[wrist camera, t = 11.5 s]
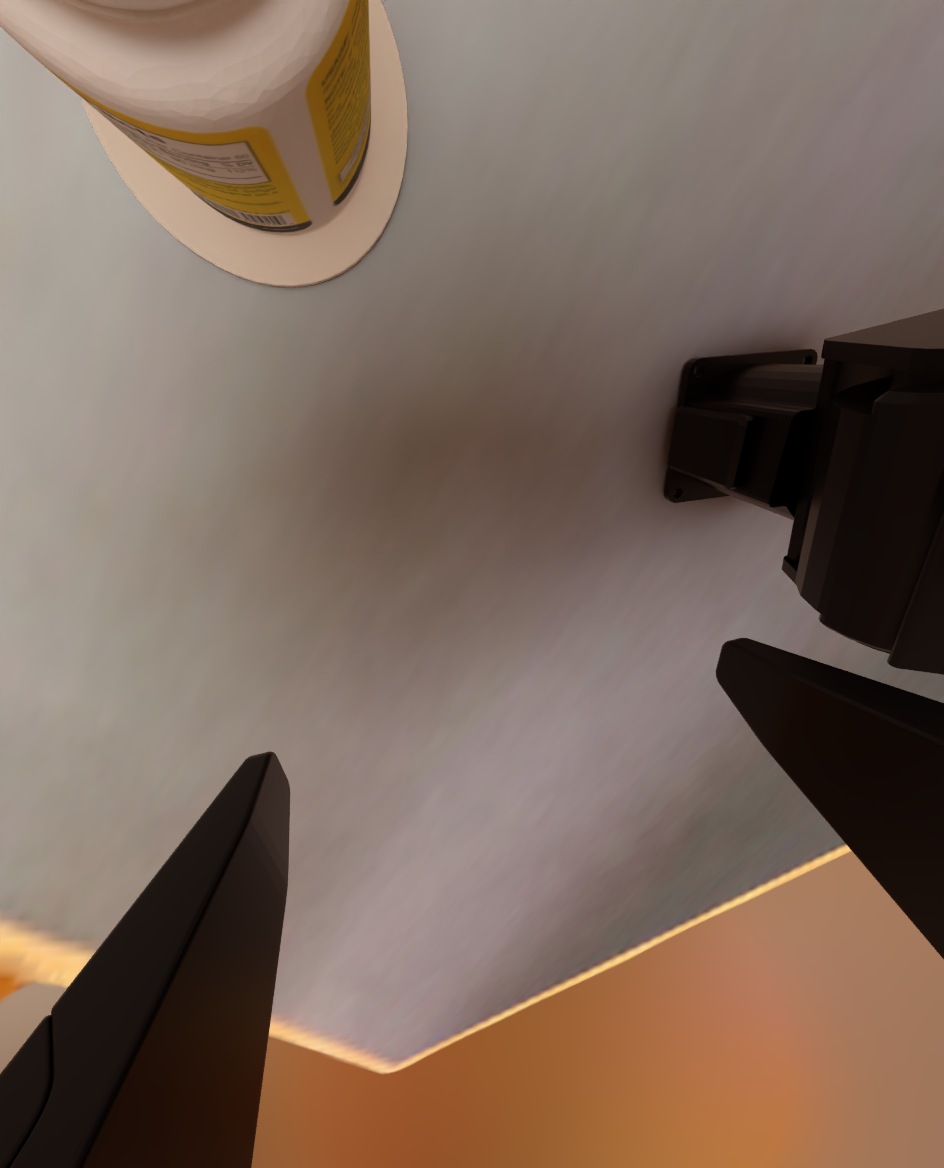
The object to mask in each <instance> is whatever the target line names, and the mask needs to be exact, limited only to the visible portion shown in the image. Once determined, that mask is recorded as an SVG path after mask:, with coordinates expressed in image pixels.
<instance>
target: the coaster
mask: <svg viewBox="0 0 944 1168" xmlns="http://www.w3.org/2000/svg"><path fill="white" fill-rule="evenodd" d="M368 2H369V37H370V76H371V132H370V143H369V149H368V154H367V158H366V162H365V166H364V169H363V172H362V174H361V177H360V179H359V181H358V183H357V185H356V187H355V189H354V191H353V193H352V194H351V196H350V197H349V199H348V200H347V201H346V203H345V204H344V205H343V206H342V207H341V208H340V210H339V211H338V212H337V213H336V214H335V215H334V216H332V217H331V218H330V219H329V220H327V221H326V222H325V223H323V224H321V225H319V226H317V227H315V228H313V229H311V230H308V231H305V232H300V233H296V234H271V233H264V232H261V231H257V230H253V229H250V228H248V227H245V226H243V225H240V224H238V223H236V222H234V221H232V220H231V219H229V218H227V217H225V216H224V215H222V214H220V213H219V212H217V211H216V210H214V209H213V208H212V207H210V206H209V205H208V204H206V203H205V202H204V201H203V200H201V199H200V198H199V197H198V196H196V195H195V194H194V193H193V192H192V191H191V190H190V189H189V188H187V187H186V186H185V185H184V184H183V183H181V182H180V181H179V180H178V179H177V178H176V177H174V176H173V175H172V174H171V173H169V172H168V171H167V170H166V169H165V168H164V167H162V166H161V165H160V164H159V163H158V162H156V161H155V160H154V159H153V158H152V157H151V156H149V155H148V154H147V153H146V152H145V151H144V150H142V149H141V148H140V147H139V146H138V145H136V144H135V143H134V142H133V141H132V140H131V139H129V138H128V137H127V136H126V135H125V134H124V133H122V132H121V131H120V130H119V129H118V128H117V127H115V126H114V125H113V124H112V123H111V122H110V121H109V120H107V119H106V118H105V117H104V116H103V115H102V114H100V113H99V112H98V111H97V110H96V109H94V108H93V107H92V106H91V105H90V104H89V103H87V102H86V101H85V100H84V99H83V98H82V97H80V98H81V100H82V103H83V105H84V108H85V110H86V113H87V115H88V117H89V120H90V122H91V125H92V127H93V129H94V131H95V132H96V134H97V136H98V138H99V140H100V142H101V144H102V146H103V148H104V150H105V152H106V154H107V155H108V157H109V158H110V160H111V162H112V163H113V165H114V166H115V168H116V170H117V171H118V173H119V174H120V176H121V178H122V179H123V180H124V182H125V183H126V184H127V186H128V187H129V188H130V190H131V191H132V192H133V194H134V195H135V196H136V197H137V199H138V200H139V201H140V202H141V204H142V205H143V206H144V207H145V208H146V209H147V210H148V211H149V212H150V214H151V215H152V216H153V217H154V218H155V219H156V220H157V221H158V222H159V223H160V224H161V225H162V226H163V227H164V228H165V229H166V230H168V231H169V232H170V233H171V234H172V235H173V236H174V237H175V238H176V239H177V240H179V241H180V242H181V243H183V244H184V245H185V246H187V247H188V248H189V249H191V250H192V251H193V252H195V253H196V254H198V255H199V256H201V257H203V258H204V259H206V260H208V261H209V262H211V263H213V264H214V265H216V266H218V267H219V268H221V269H223V270H225V271H227V272H230V273H232V274H234V275H236V276H238V277H241V278H244V279H247V280H250V281H253V282H256V283H259V284H265V285H271V286H277V287H301V286H309V285H314V284H318V283H321V282H324V281H328V280H330V279H332V278H334V277H336V276H338V275H340V274H342V273H344V272H346V271H347V270H348V269H350V268H351V267H353V266H354V265H355V264H357V263H358V262H359V261H360V260H361V259H362V258H363V257H364V256H365V255H366V254H367V253H368V252H369V251H370V250H371V248H372V247H373V246H374V244H375V243H376V242H377V240H378V239H379V238H380V236H381V234H382V233H383V231H384V229H385V227H386V225H387V224H388V222H389V220H390V217H391V215H392V212H393V210H394V207H395V205H396V202H397V198H398V195H399V191H400V187H401V183H402V178H403V172H404V165H405V159H406V152H407V132H408V121H407V101H406V93H405V86H404V79H403V72H402V67H401V63H400V59H399V54H398V50H397V46H396V42H395V39H394V36H393V33H392V30H391V26H390V23H389V20H388V17H387V14H386V12H385V9H384V7H383V5H382V2H381V0H368Z"/></svg>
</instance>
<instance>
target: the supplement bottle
mask: <svg viewBox="0 0 944 1168" xmlns="http://www.w3.org/2000/svg"><path fill="white" fill-rule="evenodd" d="M0 26H1V27H2V28H3V29H4V30H5V31H6V32H7V33H8V34H9V35H10V36H11V37H12V38H13V39H14V40H16V41H17V42H18V43H19V44H20V45H21V46H22V47H23V48H24V49H25V50H26V51H28V52H29V53H30V54H31V55H32V56H33V57H34V58H36V59H37V60H38V61H39V62H40V63H41V64H42V65H44V66H45V67H46V68H47V69H48V70H50V71H51V72H52V73H53V74H54V75H55V76H57V77H58V78H59V79H60V80H62V81H63V82H64V83H65V84H66V85H67V86H68V87H70V88H71V89H72V90H73V91H74V92H76V93H77V94H78V95H79V96H80V97H82V98H83V99H84V100H85V101H86V102H87V103H89V104H90V105H91V106H92V107H93V108H94V109H96V110H97V111H98V112H99V113H100V114H102V115H103V116H104V117H105V118H106V119H107V120H109V121H110V122H111V123H112V124H113V125H114V126H115V127H117V128H118V129H119V130H120V131H121V132H122V133H124V134H125V135H126V136H127V137H128V138H129V139H131V140H132V141H133V142H134V143H135V144H136V145H138V146H139V147H140V148H141V149H142V150H144V151H145V152H146V153H147V154H148V155H149V156H151V157H152V158H153V159H154V160H155V161H156V162H158V163H159V164H160V165H161V166H162V167H164V168H165V169H166V170H167V171H168V172H169V173H171V174H172V175H173V176H174V177H176V178H177V179H178V180H179V181H180V182H181V183H183V184H184V185H185V186H186V187H187V188H189V189H190V190H191V191H192V192H193V193H194V194H195V195H196V196H198V197H199V198H200V199H201V200H203V201H204V202H205V203H206V204H208V205H209V206H210V207H212V208H213V209H214V210H216V211H217V212H219V213H220V214H222V215H224V216H225V217H227V218H229V219H231V220H232V221H234V222H236V223H238V224H240V225H243V226H245V227H248V228H250V229H253V230H257V231H261V232H264V233H271V234H296V233H300V232H305V231H308V230H311V229H313V228H315V227H317V226H319V225H321V224H323V223H325V222H326V221H327V220H329V219H330V218H331V217H332V216H334V215H335V214H336V213H337V212H338V211H339V210H340V208H341V207H342V206H343V205H344V204H345V203H346V201H347V200H348V199H349V197H350V196H351V194H352V193H353V191H354V189H355V187H356V185H357V183H358V181H359V179H360V177H361V174H362V172H363V169H364V166H365V162H366V158H367V154H368V149H369V143H370V132H371V76H370V37H369V2H368V0H0Z"/></svg>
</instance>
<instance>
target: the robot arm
mask: <svg viewBox="0 0 944 1168" xmlns="http://www.w3.org/2000/svg"><path fill="white" fill-rule="evenodd" d="M804 358H805V362H804V364H803V365H802V362H803V360H804ZM821 358H824V359H825V360H824V365H816V362H817V352H816V351H815V350H812V349H801V350H789V351H776V352H764V353H751V354H739V355H726V356H714V357H701V358H694V359H691V360H690V361H689V362H688V363H687V364H686V366H685V368H684V371H683V377H682V384H681V390H680V396H679V402H678V409H677V412H676V416H675V422H674V428H673V435H672V441H671V447H670V454H669V460H668V472H667V478H666V484H665V491H664V496H665V498H666V499H667V500H669V501H671V502H673V503H678V502H686V501H693V500H701V499H708V498H716V497H723V496H733V497H735V498H738V499H741V500H743V501H746V502H748V503H751V504H753V505H756V506H759V507H761V508H764V509H766V510H769V511H771V512H774V513H777V514H779V515H782V516H784V517H787V518H789V519H792V520H794V522H793V528H792V533H791V538H790V543H789V549H788V554H787V556H785V557H784V559H783V565H782V570H783V571H784V572H785V573H786V574H787V575H788V577H789V578H790V579H791V580H792V581H793V582H794V583H795V584H796V585H797V587H798V590H799V593H800V595H801V596H802V597H803V598H804V599H805V600H806V601H807V602H808V603H809V604H810V605H811V606H812V607H813V608H814V609H815V610H816V611H818V612H819V613H820V617H819V620H820V622H821V623H822V624H824V625H825V626H826V627H828V628H829V629H831V630H833V631H835V632H837V633H839V634H841V635H843V636H845V637H847V638H849V639H851V640H854V641H856V642H858V643H861V644H863V645H865V646H868V647H870V648H873V649H876V650H879V651H882V652H886V653H889V654H890V655H889V658H888V660H887V662H888V664H889V665H891V666H893V667H895V668H900V669H908V670H915V671H923V672H930V673H938V674H943V675H944V309H941V310H937V311H933V312H930V313H926V314H922V315H918V316H914V317H910V318H906V319H902V320H898V321H894V322H890V323H887V324H883V325H879V326H875V327H871V328H867V329H863V330H859V331H855V332H851V333H848V334H844V335H840V336H836V337H832V338H828V339H825V340H824V345H823V350H822V356H821ZM697 366H698V367H699V371H698V373H697V375H696V376H695V375H694V370H695V368H696V367H697ZM676 489H678V491H677V493H676V494H675V495H673V493H674V491H675V490H676ZM716 677H717V680H718V682H719V684H720V685H721V687H722V688H723V690H724V691H725V692H726V694H727V695H728V697H729V698H730V700H731V701H732V702H733V704H734V705H735V707H736V708H737V709H738V711H739V712H740V714H741V715H742V717H743V718H744V719H745V721H746V722H747V724H748V725H749V726H750V728H751V729H752V731H753V732H754V734H755V735H756V736H757V738H758V739H759V740H760V742H761V743H762V744H763V746H764V747H765V748H766V750H767V751H768V752H769V753H770V754H771V756H772V757H773V758H774V759H775V760H776V762H777V763H778V764H779V765H780V766H781V768H782V769H783V770H784V771H785V772H786V773H787V775H788V776H789V777H790V778H791V779H792V781H793V782H794V783H795V784H796V785H797V786H798V788H799V789H800V790H801V791H802V792H803V794H804V795H805V796H806V797H807V798H808V799H809V801H810V802H811V803H812V804H813V805H814V807H815V808H816V809H817V810H818V811H819V812H820V814H821V815H822V816H823V817H824V818H825V820H826V821H827V822H828V823H829V824H830V825H831V827H832V828H833V829H834V830H835V831H836V833H837V834H838V835H839V836H840V837H841V838H842V840H843V841H844V842H845V843H846V844H847V846H848V847H849V848H850V849H851V850H852V851H853V853H854V854H855V855H856V856H857V857H858V859H859V860H860V861H861V862H862V863H863V864H864V866H865V867H866V868H867V869H868V870H869V871H870V873H871V874H872V875H873V876H874V877H875V878H876V880H877V881H878V882H879V883H880V885H881V886H882V887H883V888H884V889H885V890H886V892H887V893H888V894H889V895H890V896H891V898H892V899H893V900H894V901H895V902H896V903H897V905H898V906H899V907H900V908H901V909H902V911H903V912H904V913H905V914H906V915H907V916H908V918H909V919H910V920H911V921H912V922H913V924H914V925H915V926H916V927H917V928H918V929H919V930H920V932H921V933H922V934H923V935H924V937H925V938H926V939H927V940H928V941H929V942H930V943H931V945H932V946H933V947H934V948H935V950H936V951H937V952H938V953H939V954H940V955H941V957H942V958H943V959H944V703H941V702H938V701H935V700H932V699H929V698H926V697H923V696H920V695H917V694H914V693H911V692H908V691H905V690H902V689H899V688H896V687H893V686H890V685H887V684H884V683H881V682H878V681H875V680H872V679H869V678H866V677H863V676H860V675H857V674H854V673H851V672H848V671H845V670H842V669H838V668H835V667H832V666H829V665H826V664H823V663H820V662H817V661H814V660H811V659H808V658H805V657H802V656H799V655H796V654H793V653H790V652H787V651H784V650H781V649H778V648H775V647H772V646H769V645H766V644H763V643H760V642H757V641H754V640H751V639H748V638H739V639H735V640H730V641H727V642H725V643H724V644H723V646H722V649H721V653H720V657H719V660H718V664H717V668H716ZM289 821H290V787H289V782H288V779H287V777H286V775H285V773H284V771H283V768H282V766H281V764H280V762H279V760H278V758H277V756H276V754H275V753H274V752H266V753H262V754H258V755H253V756H250V757H248V758H247V759H246V760H245V761H244V762H243V763H242V765H241V766H240V767H239V769H238V770H237V771H236V772H235V774H234V775H233V776H232V778H231V779H230V780H229V781H228V783H227V784H226V785H225V787H224V788H223V789H222V790H221V792H220V793H219V794H218V796H217V797H216V798H215V799H214V801H213V802H212V803H211V805H210V806H209V807H208V808H207V810H206V811H205V812H204V814H203V815H202V816H201V817H200V819H199V820H198V821H197V823H196V824H195V825H194V826H193V828H192V829H191V830H190V832H189V833H188V834H187V835H186V837H185V838H184V839H183V841H182V842H181V843H180V844H179V846H178V847H177V848H176V850H175V851H174V852H173V853H172V855H171V856H170V857H169V859H168V860H167V861H166V862H165V864H164V865H163V866H162V867H161V869H160V870H159V871H158V873H157V874H156V875H155V876H154V878H153V879H152V880H151V882H150V883H149V884H148V885H147V887H146V888H145V889H144V891H143V892H142V893H141V894H140V896H139V897H138V898H137V900H136V901H135V902H134V903H133V905H132V906H131V907H130V909H129V910H128V911H127V912H126V914H125V915H124V916H123V918H122V919H121V920H120V921H119V923H118V924H117V925H116V927H115V928H114V929H113V930H112V932H111V933H110V934H109V936H108V937H107V938H106V939H105V941H104V942H103V943H102V945H101V946H100V947H99V948H98V950H97V951H96V952H95V954H94V955H93V956H92V957H91V959H90V960H89V961H88V963H87V964H86V965H85V966H84V968H83V969H82V970H81V972H80V973H79V974H78V975H77V977H76V978H75V979H74V981H73V982H72V983H71V984H70V986H69V987H68V988H67V990H66V991H65V992H64V993H63V995H62V996H61V997H60V998H59V1000H58V1001H57V1002H56V1004H55V1005H54V1006H53V1008H52V1011H51V1015H48V1016H46V1017H45V1018H44V1019H43V1020H42V1021H41V1023H40V1024H39V1025H38V1026H37V1028H36V1029H35V1030H34V1032H33V1033H32V1034H31V1035H30V1037H29V1038H28V1039H27V1041H26V1042H25V1043H24V1044H23V1046H22V1047H21V1048H20V1049H19V1051H18V1052H17V1053H16V1055H15V1056H14V1057H13V1059H12V1060H11V1061H10V1062H9V1064H8V1065H7V1066H6V1067H5V1069H4V1070H3V1071H2V1072H1V1074H0V1168H251V1165H252V1157H253V1149H254V1142H255V1134H256V1127H257V1119H258V1112H259V1104H260V1096H261V1089H262V1080H263V1073H264V1066H265V1058H266V1050H267V1043H268V1035H269V1027H270V1020H271V1012H272V1005H273V997H274V989H275V982H276V974H277V966H278V959H279V951H280V943H281V936H282V928H283V920H284V913H285V905H286V896H287V887H288V864H289Z"/></svg>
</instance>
